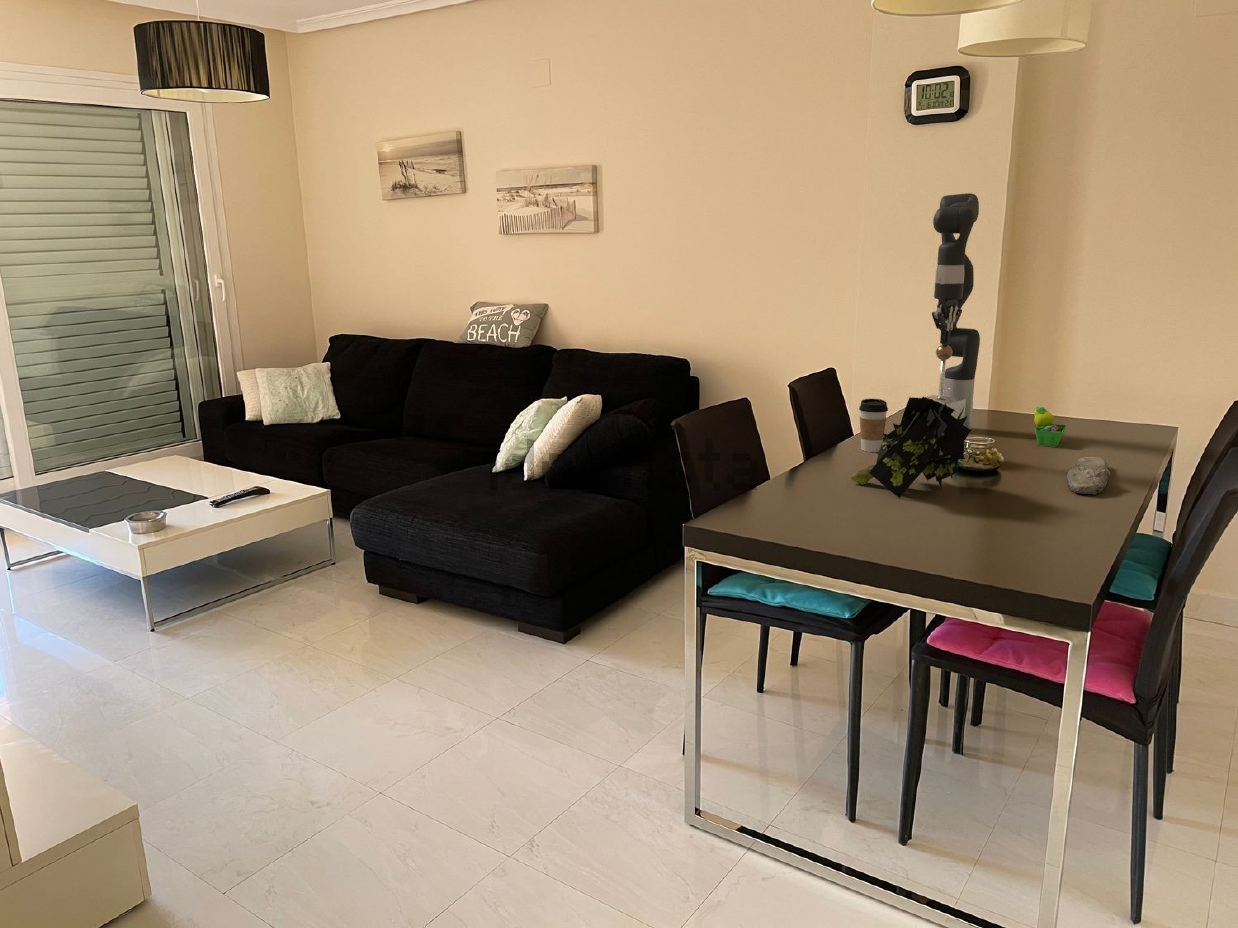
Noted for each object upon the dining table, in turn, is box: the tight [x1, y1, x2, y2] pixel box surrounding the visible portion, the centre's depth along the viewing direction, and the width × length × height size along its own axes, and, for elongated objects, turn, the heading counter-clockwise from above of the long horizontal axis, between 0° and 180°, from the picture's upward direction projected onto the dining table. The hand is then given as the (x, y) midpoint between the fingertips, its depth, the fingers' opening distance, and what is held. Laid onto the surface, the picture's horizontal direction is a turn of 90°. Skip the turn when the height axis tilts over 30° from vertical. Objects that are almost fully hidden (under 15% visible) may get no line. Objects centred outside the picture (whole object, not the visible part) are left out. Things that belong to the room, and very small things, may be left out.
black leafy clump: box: [850, 396, 972, 499], centre depth 231 cm, size 21×22×30 cm
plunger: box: [935, 344, 953, 400], centre depth 261 cm, size 7×7×22 cm
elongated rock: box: [1066, 456, 1111, 495], centre depth 241 cm, size 35×5×10 cm
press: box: [925, 394, 966, 425], centre depth 265 cm, size 10×10×17 cm
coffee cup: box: [858, 398, 889, 453], centre depth 274 cm, size 8×8×15 cm
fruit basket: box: [1033, 406, 1067, 448], centre depth 280 cm, size 11×9×11 cm
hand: (944, 343), depth 259 cm, fingers closed
